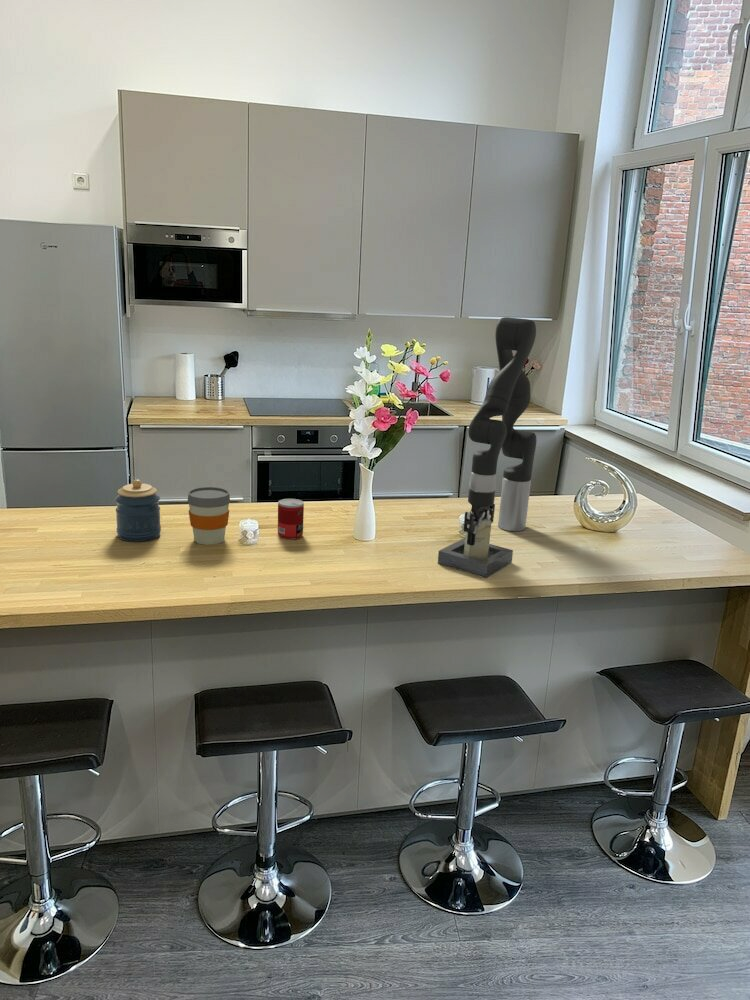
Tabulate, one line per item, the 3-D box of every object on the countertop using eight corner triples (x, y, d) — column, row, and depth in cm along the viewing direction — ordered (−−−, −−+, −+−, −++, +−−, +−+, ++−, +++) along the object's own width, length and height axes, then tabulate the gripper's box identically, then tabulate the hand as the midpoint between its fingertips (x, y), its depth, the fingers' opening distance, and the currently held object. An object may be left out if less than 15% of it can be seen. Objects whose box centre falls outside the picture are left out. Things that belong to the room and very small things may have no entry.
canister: (154, 543, 231) (152, 486, 226) (110, 541, 231) (107, 484, 226) (166, 529, 244) (164, 475, 238) (124, 527, 244) (122, 472, 238)
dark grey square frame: (464, 549, 240) (465, 537, 239) (511, 562, 231) (513, 550, 230) (437, 563, 228) (438, 550, 227) (486, 578, 219) (487, 565, 218)
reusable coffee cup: (235, 534, 242) (235, 488, 238) (223, 548, 230) (223, 500, 226) (195, 531, 243) (195, 485, 239) (182, 544, 231) (181, 496, 227)
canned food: (301, 540, 241) (302, 506, 237) (275, 538, 241) (276, 505, 237) (304, 532, 248) (305, 499, 245) (279, 530, 248) (279, 497, 245)
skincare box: (468, 561, 226) (472, 522, 223) (462, 555, 230) (466, 517, 227) (488, 560, 228) (492, 521, 224) (482, 554, 232) (486, 516, 228)
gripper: (482, 480, 230) (477, 532, 235) (458, 489, 219) (453, 544, 224) (505, 485, 226) (499, 538, 231) (481, 495, 215) (476, 551, 220)
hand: (477, 541), depth 228 cm, fingers closed on skincare box, 7 cm apart
